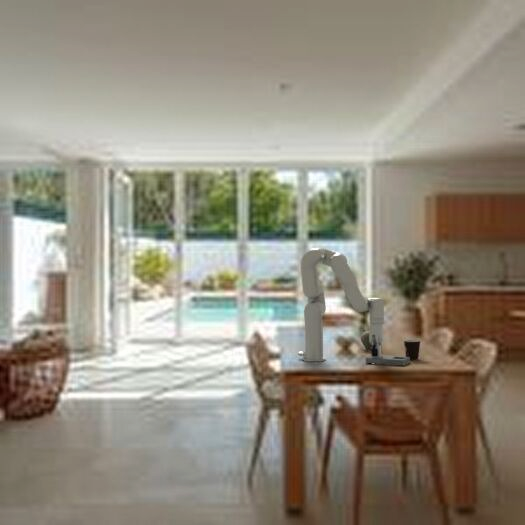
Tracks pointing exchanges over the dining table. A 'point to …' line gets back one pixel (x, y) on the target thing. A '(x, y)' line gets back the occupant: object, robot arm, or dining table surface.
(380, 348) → the plug
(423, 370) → the dining table surface
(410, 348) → the coffee mug
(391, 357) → the panel
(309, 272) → the robot arm
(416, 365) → the dining table surface
